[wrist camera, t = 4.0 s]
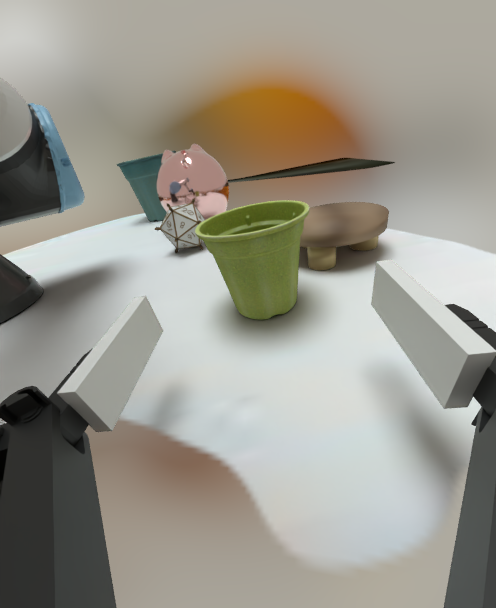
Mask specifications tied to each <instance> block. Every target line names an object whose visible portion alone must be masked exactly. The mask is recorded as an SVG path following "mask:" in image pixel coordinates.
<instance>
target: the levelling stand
mask: <svg viewBox="0 0 496 608" xmlns="http://www.w3.org/2000/svg"><path fill="white" fill-rule="evenodd" d="M388 214H389V211H388V209H387V208H385V207H384V206H381V205H378V204H373V203H365V202H345V203H333V204H326V205H320V206H315V207H311V208H309V214H308V215H307V217H306V218H305V219H304V227H303V232H302V234H301V236H300V247H302V248H306V249H307V254H308V267H309V268H310V269H313V270H328V269H331V268H333V267H334V266H335V265H336V247H337V246H345V245H350V248H351V249H353V250H358V251H367V250H372V249H374V248H376V247H377V244H378V235H380V234H381V233H383V232H384V231H385V230H386V228H387V222H388Z"/></svg>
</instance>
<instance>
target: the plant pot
mask: <svg viewBox="0 0 496 608" xmlns="http://www.w3.org/2000/svg"><path fill="white" fill-rule="evenodd" d="M308 214H309V206H308V205H307V204H306V203H304V202H300V201H288V200H286V201H285V200H281V201H270V202H264V203H257V204H251V205H247V206H243V207H239V208H236V209H232V210H229V211H226V212H223V213H220V214H217V215H215V216H212V217H210V218H208V219H206V220H204V221H203V222H201V223H200V224H199V225H198V226H197V227H196V229H195V233H196V236H197V237H198V238H199V239H201V240H203V241H204V243H205V245H206V247H207V249H208V250H209V252H210V253H212V254H213V256H214V258H215V260H216V263H217V265H218V267H219V269H220V272H221V274H222V276H223V278H224V280H225V283H226V285H227V287H228V289H229V292H230V294H231V296H232V299H233V301H234V303H235V305H236V308H237V309H238V311H239V312H240V314H242V315H243V316H245V317H247V318H251V319H261V320H262V319H269V318H270V317H272V316H274V315H276V314H285V313H286V312H288V311H289V310H290V309H291V308H292V307H293V306H294V305H295V303H296V300H297V285H298V267H299V251H300V236H301V234H302V232H303V227H304V219H305V218H306V217H307V215H308Z"/></svg>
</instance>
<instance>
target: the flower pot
mask: <svg viewBox="0 0 496 608" xmlns="http://www.w3.org/2000/svg"><path fill="white" fill-rule="evenodd" d="M171 152H173V153H176V151H171ZM162 156H163V153H162V154H157V155H153V156H148V157H144V158H140V159H136V160H131V161H126V162H122V163H119V164H117V166H119V167H120V168H121V170H122V172H123V174H124V176H125V178H126V179H127V180H128V181H129V183H130V185H131V187H132V189H133V191H134V192H135V194H136V196H137V198H138V200H139V202H140V204H141V206H142V208H143V210H144V212H145V214H146V216H147V218H148V220H149V221H156V220H158V221H161V220H164V218H165V216H166V213H167V212H166V211H165V210H164V208H163V207H162V205H161V203H160V201H159V198H158V195H157V189H156V179H157V173H158V170H159V168H160V165H161V161H162Z"/></svg>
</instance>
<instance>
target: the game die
mask: <svg viewBox="0 0 496 608" xmlns="http://www.w3.org/2000/svg"><path fill="white" fill-rule="evenodd" d="M194 202H195V198H194V199H192V203H188V204H182V205H177V206H171V207H170V205H169V204H168V203H167V206H168V207H169V209H168V211H167V213H166V216H165V218H164V220H163V222H162V224H161V226H160V228H159V227H156V228H155V230H161V231H162V232H163V233H164V234H165V236H166V237H167V238H168V239H169V240H170V241H171V242H172V244H173V245H174V246H175V247H176V249H175V252H176V253H177V252H178V249H181V248H188V247H196V246H199V248H200V249H202V250H203V247H202V246H201V242H202V240H201V239H199V238H198V237H197V236H196V233H195V229H196V227H197V226H198V225H199V224H200V223H201V222H203V221H204V220H205V219H204V217H203V216H202V215H201V213H200V212H199V210H198V209H197V208H196V206H195V205H194Z"/></svg>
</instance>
